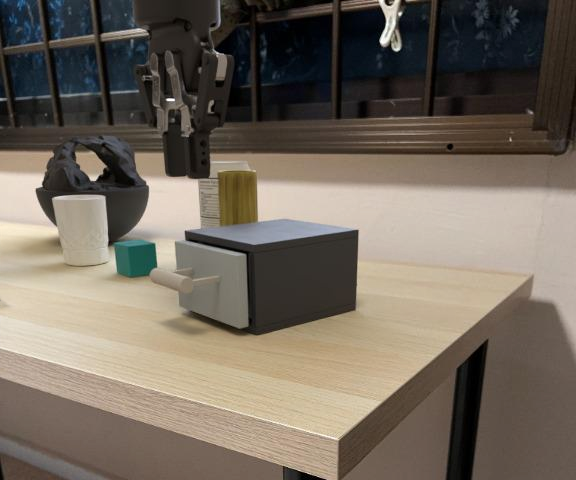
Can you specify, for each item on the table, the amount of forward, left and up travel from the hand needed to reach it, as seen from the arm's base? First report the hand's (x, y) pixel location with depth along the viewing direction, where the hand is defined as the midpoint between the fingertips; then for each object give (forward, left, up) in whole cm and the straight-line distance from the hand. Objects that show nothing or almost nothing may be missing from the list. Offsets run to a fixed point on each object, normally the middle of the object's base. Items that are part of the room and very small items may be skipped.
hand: (187, 176), depth 59 cm
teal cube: (+8, +29, -15) cm, 34 cm away
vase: (+18, +17, -15) cm, 29 cm away
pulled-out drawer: (+6, 0, -14) cm, 15 cm away
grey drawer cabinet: (+10, 0, -15) cm, 18 cm away
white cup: (+6, +42, -15) cm, 45 cm away
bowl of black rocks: (+16, +59, -15) cm, 63 cm away
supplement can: (+23, +27, -15) cm, 39 cm away
